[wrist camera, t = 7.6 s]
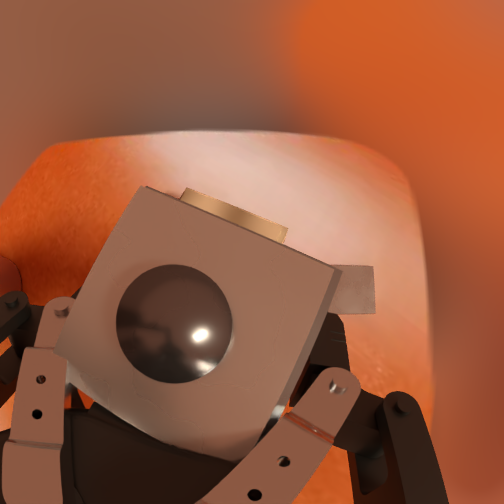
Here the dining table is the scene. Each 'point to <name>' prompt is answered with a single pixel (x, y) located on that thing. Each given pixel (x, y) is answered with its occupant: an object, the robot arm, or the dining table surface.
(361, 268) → the cover plate
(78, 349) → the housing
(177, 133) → the dining table surface
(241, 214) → the stand
